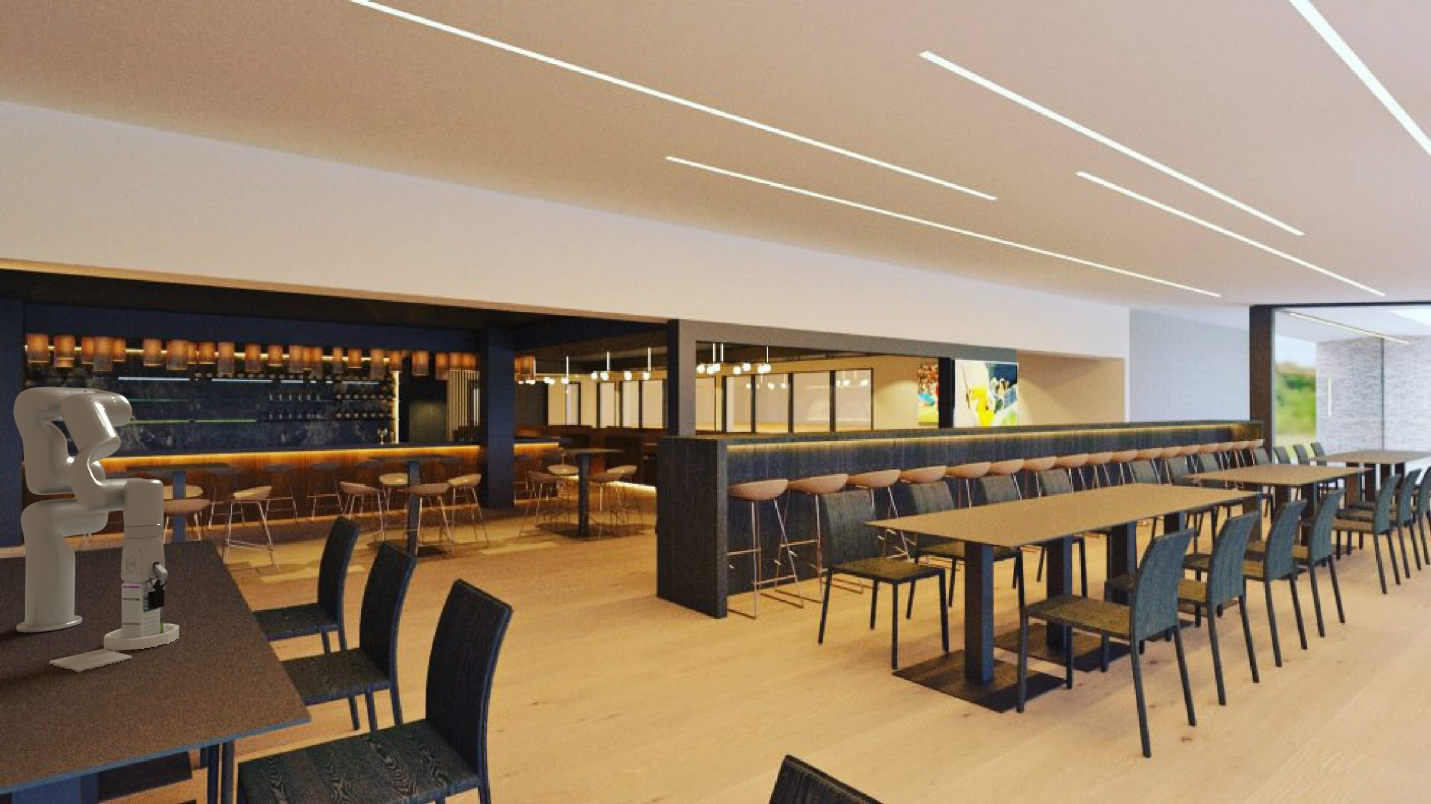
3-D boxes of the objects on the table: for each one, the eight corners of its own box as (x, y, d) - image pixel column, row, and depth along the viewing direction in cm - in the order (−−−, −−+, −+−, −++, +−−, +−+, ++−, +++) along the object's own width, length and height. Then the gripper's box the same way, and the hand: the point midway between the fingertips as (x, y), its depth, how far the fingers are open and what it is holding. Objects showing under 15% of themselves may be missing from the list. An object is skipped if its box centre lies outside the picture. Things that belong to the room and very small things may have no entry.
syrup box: (141, 646, 181) (142, 583, 181) (120, 645, 182) (121, 582, 182) (163, 639, 187) (164, 578, 187) (143, 638, 188) (143, 577, 188)
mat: (49, 663, 168) (49, 661, 168) (103, 651, 177) (103, 648, 177) (78, 672, 163) (78, 669, 163) (132, 659, 172) (132, 656, 172)
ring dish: (91, 646, 181) (92, 635, 181) (158, 631, 194) (158, 621, 194) (125, 654, 175) (125, 643, 175) (191, 638, 187) (191, 628, 187)
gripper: (106, 533, 185) (106, 606, 185) (147, 536, 177) (147, 613, 177) (141, 528, 192) (141, 599, 192) (182, 532, 184) (182, 605, 184)
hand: (144, 606), depth 184 cm, fingers open, 9 cm apart
